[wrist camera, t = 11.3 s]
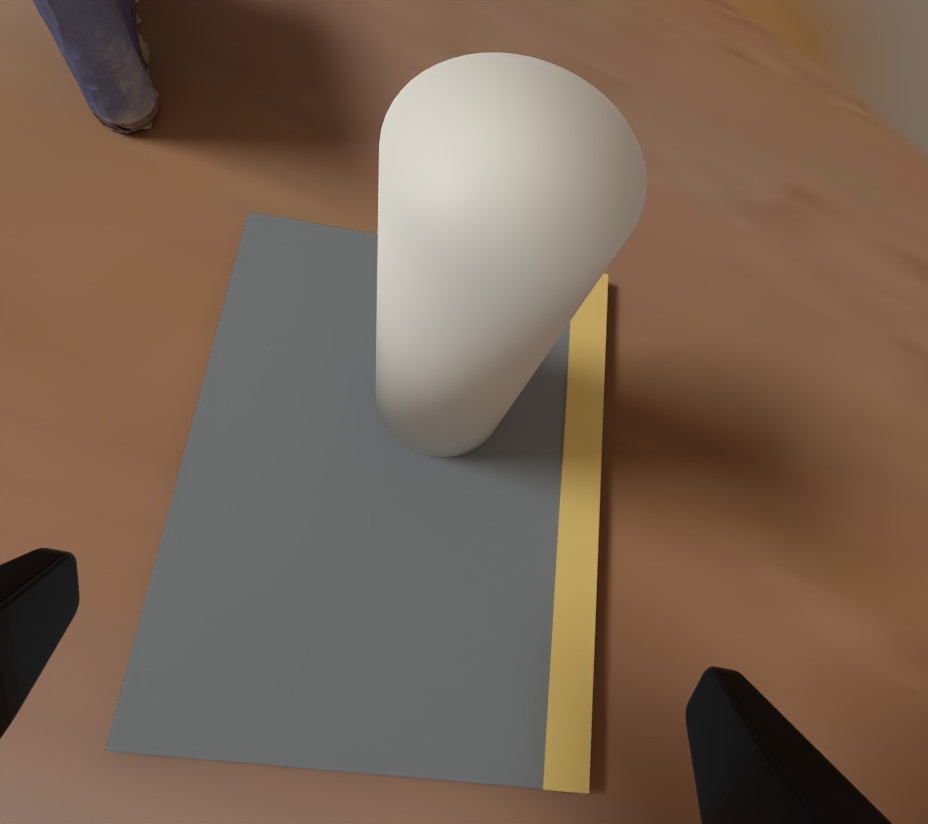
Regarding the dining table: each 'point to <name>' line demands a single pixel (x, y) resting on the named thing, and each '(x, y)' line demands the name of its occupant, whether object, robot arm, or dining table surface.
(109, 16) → the flask
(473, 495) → the mat
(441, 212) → the skittle
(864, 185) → the dining table surface
